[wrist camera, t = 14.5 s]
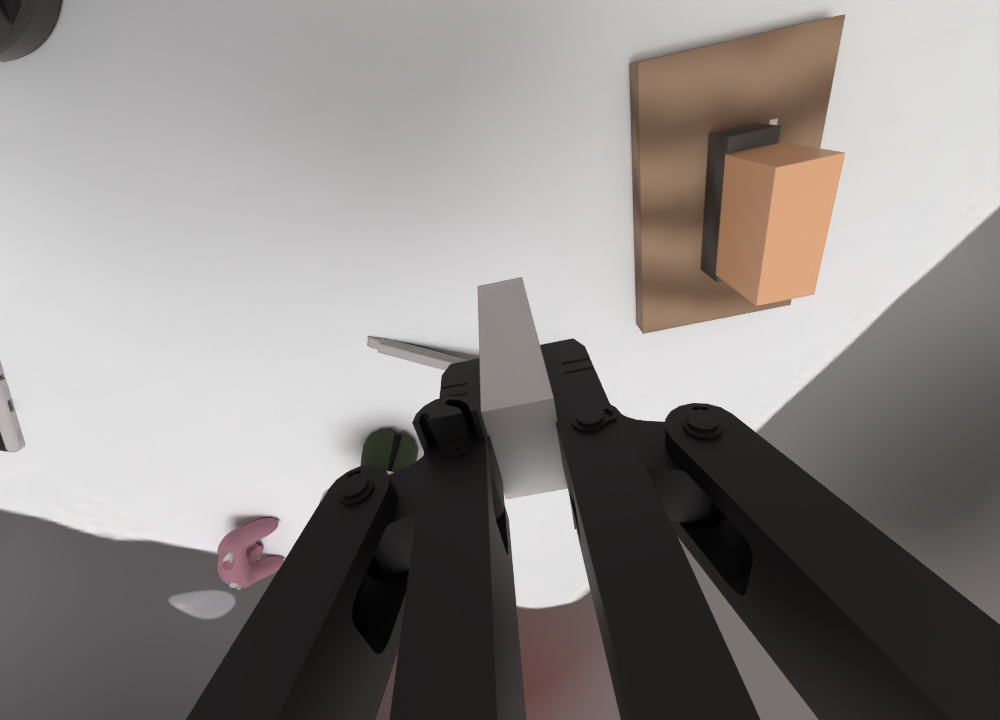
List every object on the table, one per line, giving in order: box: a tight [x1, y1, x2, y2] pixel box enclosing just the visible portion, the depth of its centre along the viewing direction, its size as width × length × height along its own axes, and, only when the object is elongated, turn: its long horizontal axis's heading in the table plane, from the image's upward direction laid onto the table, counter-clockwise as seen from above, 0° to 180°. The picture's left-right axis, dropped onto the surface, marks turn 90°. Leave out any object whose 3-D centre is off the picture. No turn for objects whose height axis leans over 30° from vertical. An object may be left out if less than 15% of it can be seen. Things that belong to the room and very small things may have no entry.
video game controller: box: [218, 518, 284, 590], centre depth 56 cm, size 10×5×7 cm, turn 170°
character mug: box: [320, 430, 418, 502], centre depth 45 cm, size 11×7×13 cm, turn 65°
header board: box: [630, 15, 845, 334], centre depth 33 cm, size 22×14×8 cm, turn 11°
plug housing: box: [716, 142, 845, 306], centre depth 30 cm, size 9×4×6 cm, turn 11°
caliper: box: [367, 336, 468, 370], centre depth 42 cm, size 20×1×6 cm, turn 77°
